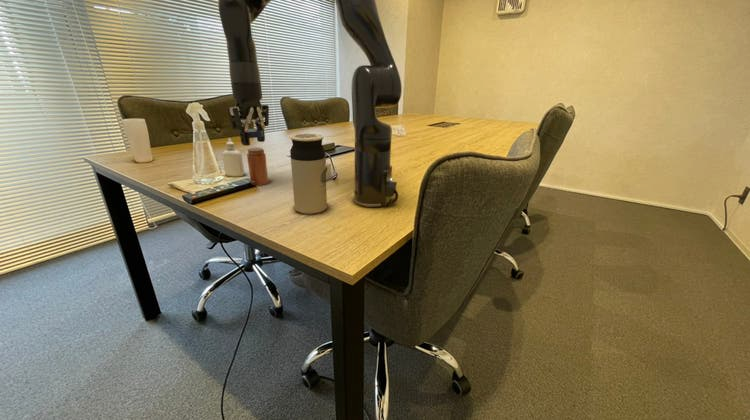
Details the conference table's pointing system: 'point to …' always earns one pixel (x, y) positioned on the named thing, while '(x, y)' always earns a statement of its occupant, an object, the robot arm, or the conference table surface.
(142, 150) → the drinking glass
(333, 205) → the conference table surface
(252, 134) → the lid
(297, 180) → the travel mug
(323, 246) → the conference table surface
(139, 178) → the conference table surface
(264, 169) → the jar
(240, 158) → the eye dropper bottle
